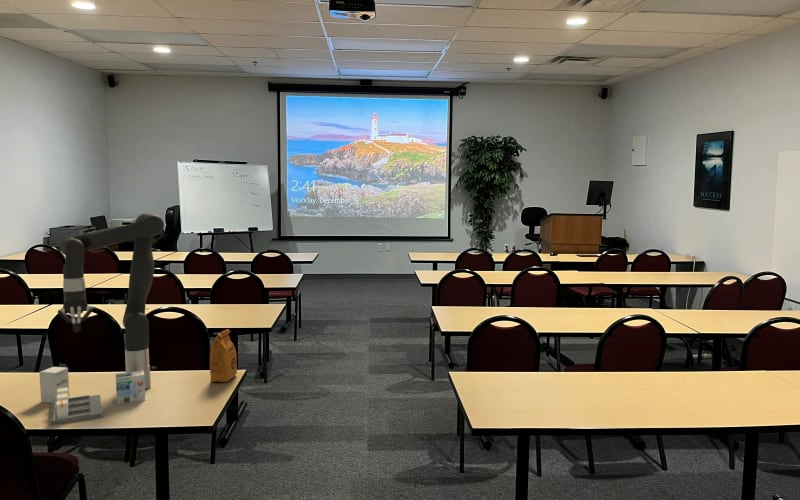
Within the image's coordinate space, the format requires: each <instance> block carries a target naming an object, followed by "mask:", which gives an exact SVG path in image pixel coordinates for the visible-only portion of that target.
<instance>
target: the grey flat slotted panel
mask: <svg viewBox="0 0 800 500" xmlns="http://www.w3.org/2000/svg"><path fill="white" fill-rule="evenodd" d="M68 399H69V400H68V416H66V417H60V418H57V408H56V402H57V401H53V402H52V403H51V410H50V420H49V424H50V426H51V427H52V426H55V425H63V424H68V423H75V422H80V421H86V420H93V419H98V418H99V417H100V418H104V417H103V409H102V401H101V400H102V399H101V394H95V395H90V394H88V395H87V394H86V395H80V396H74V397H73V396H72V397H68Z"/></svg>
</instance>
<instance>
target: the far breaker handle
mask: <svg viewBox="0 0 800 500" xmlns="http://www.w3.org/2000/svg"><path fill="white" fill-rule="evenodd" d="M57 393H58V395H60V394H67V393H68V387H67V388H60V389H58V391H57ZM68 400H69V399H68Z"/></svg>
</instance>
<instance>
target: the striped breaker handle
mask: <svg viewBox="0 0 800 500" xmlns="http://www.w3.org/2000/svg"><path fill="white" fill-rule="evenodd" d="M56 408H57V418H60V417H66V416H68V403H67V400H61V401H57V402H56Z"/></svg>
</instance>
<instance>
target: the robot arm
mask: <svg viewBox="0 0 800 500" xmlns="http://www.w3.org/2000/svg"><path fill="white" fill-rule="evenodd" d="M164 223H165V222H164V220H163V219H162V218H161V216H159V215H157V214H154V213H153V214H152V213H147V212H145V213H144V212H143V213H140V215H138V217H137V218H136V220H135V222H133V223H130V224H126V225H125V224H124V225H121V226H114V227H113V226H112V227H107V228H102V229H98V230H95V231H92V232H90V233H85V234H79V235H76V236H75V235H74V236H71V237H67V238H65V239H63V240H62V241H61V242H60V244H59V250H60V251H59V252H61V253H62V254H63V255H64V257H65V258H64V259H65V262H64V264H63V266H62V272H63V273H62V274H63V281H62V285H63V286H62V290H63V306H62V307H61V308H60V309H58V310H57V314H58V315H59V316H60V317H61V318H63V319H64V320H65V322H67V323H69V324H72V332H74V333H75V334H76V333H80V332H81V330H82V325H81V324H82V322H85V321H86V320H87V318H88V317H89V316H90V315H91V314H92V312H93V311H94V306H90V305H89V304H88V302H87V296H86V295H87V294H86V293H87V292H86V282H85V277H84V276H85V275H84V274H85V273H84V263H85V262H84V261H85V255H86V254H85V252H86V251H95V250H99V249H103V248H106V247H109V246H113V245H115V244H119V243H122V242H126V241H130V240H134V244H133V250H132V252H133V253H132V258H131V264H130V270H129V280H128V291H127V293H128V295H127V303H126V306H125V310H124V314H123V318H122V326H123V328H124V333H125V338H124V339H125V343H124V355H125V356H124V357H125V361H124V362H125V373H127V372H135V371H142V370H143V371H144V377H145V390H147V389H150V388H151V387H152V386H151V366H150V354H149V353H150V352H149V350H150V349H149V342H150V324H149V318H148V317H147V316H146V304H147V303H146V302H147V297H148V295H149V292H150V290H151V288H152V284H153V279H154V274H155V273H154V272H155V261H154V259H155V258H154V254H153V248H152V247H153V239H154V236H158V235H159V234H161V233H162V232H163V230H164V227H165V224H164ZM85 310H86V312H85V313H84V311H85ZM66 313H68V315H70V316H71V318H70V317H69V316H68V315H67V314H66ZM83 313H84V315H83V316H82V314H83Z"/></svg>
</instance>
